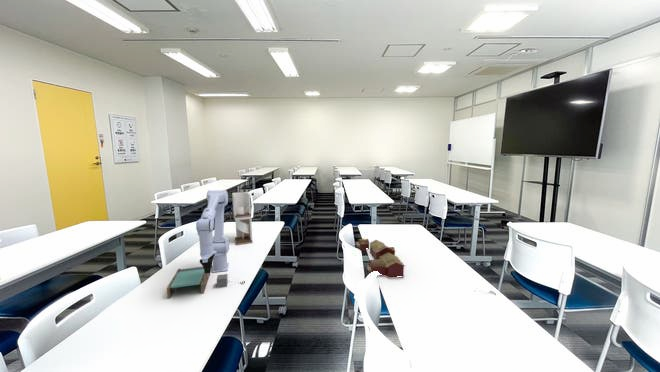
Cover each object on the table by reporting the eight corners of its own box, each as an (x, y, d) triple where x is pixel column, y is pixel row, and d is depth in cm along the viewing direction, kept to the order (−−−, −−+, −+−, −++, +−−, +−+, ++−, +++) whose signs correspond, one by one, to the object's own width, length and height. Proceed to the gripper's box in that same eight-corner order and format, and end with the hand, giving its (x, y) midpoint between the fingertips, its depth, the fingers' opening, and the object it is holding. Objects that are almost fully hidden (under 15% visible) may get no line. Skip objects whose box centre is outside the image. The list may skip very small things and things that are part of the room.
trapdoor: (181, 273, 134) (180, 268, 134) (206, 270, 137) (206, 265, 137) (170, 291, 117) (170, 286, 117) (200, 287, 121) (199, 282, 120)
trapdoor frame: (179, 277, 136) (178, 268, 135) (210, 274, 140) (209, 265, 139) (167, 298, 117) (166, 288, 116) (203, 293, 121) (202, 283, 120)
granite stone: (218, 283, 130) (217, 275, 129) (227, 282, 131) (227, 273, 131) (217, 288, 126) (216, 279, 125) (227, 286, 127) (226, 278, 126)
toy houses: (408, 277, 136) (409, 259, 135) (370, 279, 134) (370, 261, 133) (382, 245, 181) (382, 231, 179) (353, 246, 178) (353, 232, 177)
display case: (234, 240, 191) (232, 192, 185) (250, 237, 195) (247, 191, 190) (236, 245, 180) (233, 195, 175) (252, 242, 185) (250, 194, 180)
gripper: (213, 248, 117) (215, 276, 119) (217, 237, 131) (219, 263, 133) (196, 250, 115) (198, 278, 117) (201, 239, 129) (203, 265, 131)
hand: (208, 270), depth 125 cm, fingers open, 4 cm apart
